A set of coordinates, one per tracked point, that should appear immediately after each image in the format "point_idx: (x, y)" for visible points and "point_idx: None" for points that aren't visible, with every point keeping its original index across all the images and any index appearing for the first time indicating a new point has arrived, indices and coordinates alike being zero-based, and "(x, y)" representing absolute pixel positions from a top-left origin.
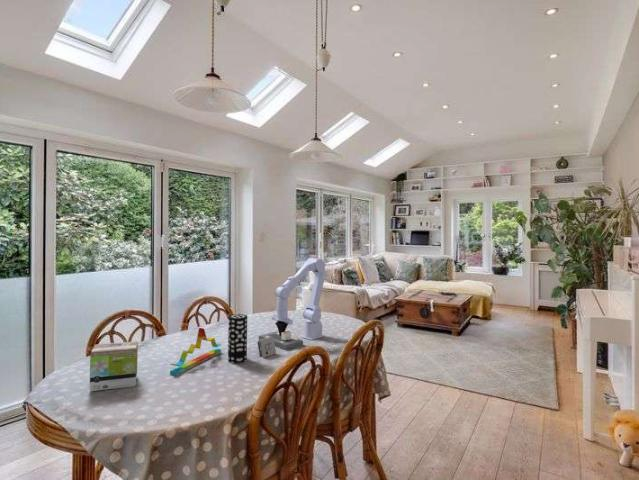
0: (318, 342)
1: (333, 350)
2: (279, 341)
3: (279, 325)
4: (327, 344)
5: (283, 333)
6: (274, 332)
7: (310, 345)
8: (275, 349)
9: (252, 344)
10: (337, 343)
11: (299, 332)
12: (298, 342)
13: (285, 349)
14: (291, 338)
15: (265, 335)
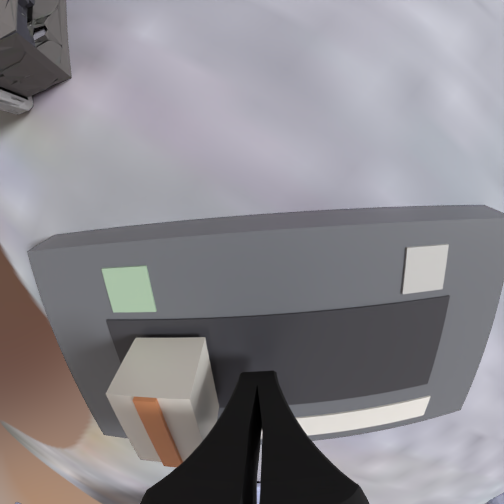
0: (133, 474)
1: (3, 421)
2: (167, 282)
3: (214, 486)
4: (86, 470)
5: (143, 392)
6: (459, 391)
7: (96, 427)
8: (6, 110)
9: (423, 67)
10: (88, 490)
11: (366, 494)
12: (86, 394)
13: (51, 239)
14: None
15: (473, 281)
